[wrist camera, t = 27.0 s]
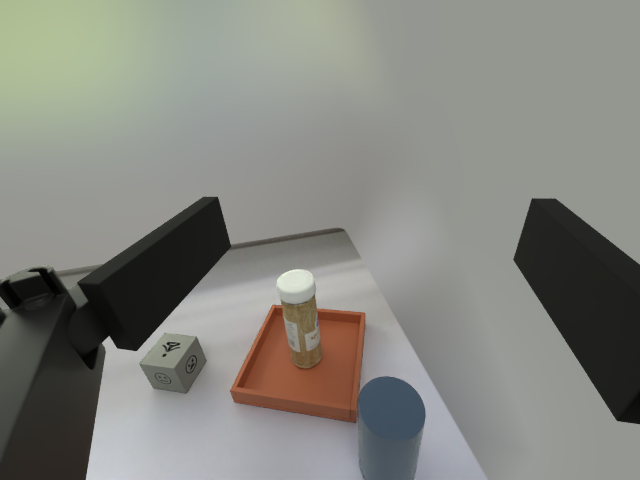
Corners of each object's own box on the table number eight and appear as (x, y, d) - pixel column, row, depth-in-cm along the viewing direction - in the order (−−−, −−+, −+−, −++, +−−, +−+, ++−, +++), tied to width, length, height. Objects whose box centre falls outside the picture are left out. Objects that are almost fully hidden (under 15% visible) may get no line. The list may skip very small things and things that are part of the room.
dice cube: (206, 360, 42) (196, 336, 39) (186, 393, 38) (173, 368, 35) (176, 356, 43) (164, 332, 40) (153, 388, 39) (138, 363, 36)
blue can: (413, 438, 31) (422, 380, 26) (417, 504, 26) (429, 447, 21) (361, 430, 32) (360, 372, 27) (356, 490, 28) (355, 434, 23)
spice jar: (326, 365, 39) (318, 287, 32) (292, 373, 38) (277, 295, 32) (319, 339, 43) (310, 264, 36) (288, 346, 42) (274, 271, 36)
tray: (365, 323, 46) (365, 312, 44) (356, 423, 33) (355, 410, 32) (274, 315, 49) (272, 304, 48) (234, 402, 36) (229, 390, 35)
